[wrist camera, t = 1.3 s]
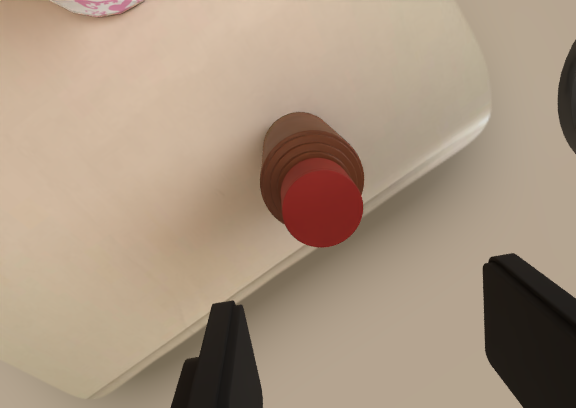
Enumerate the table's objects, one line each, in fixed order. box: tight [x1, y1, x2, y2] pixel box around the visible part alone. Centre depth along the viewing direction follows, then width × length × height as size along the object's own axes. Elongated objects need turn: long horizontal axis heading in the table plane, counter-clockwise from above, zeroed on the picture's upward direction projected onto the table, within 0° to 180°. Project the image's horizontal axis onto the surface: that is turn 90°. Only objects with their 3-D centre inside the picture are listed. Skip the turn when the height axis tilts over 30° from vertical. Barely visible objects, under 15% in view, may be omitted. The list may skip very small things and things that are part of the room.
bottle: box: [260, 112, 364, 224], centre depth 29 cm, size 6×6×17 cm
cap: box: [281, 158, 363, 247], centre depth 22 cm, size 4×4×3 cm
